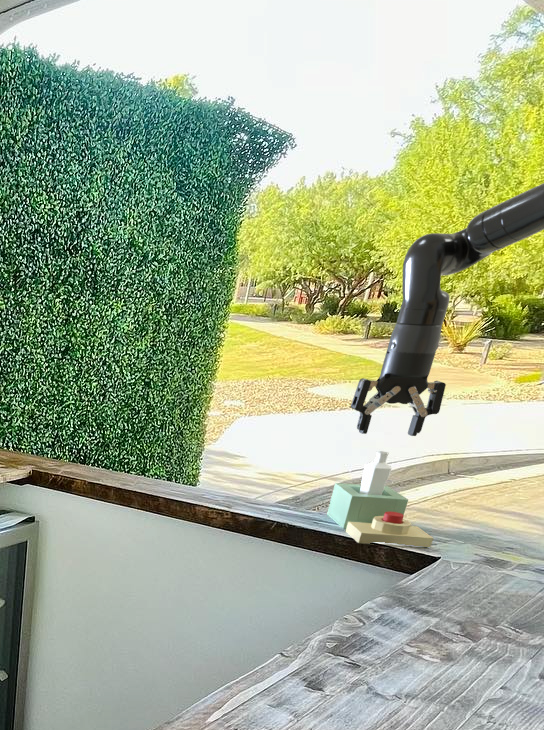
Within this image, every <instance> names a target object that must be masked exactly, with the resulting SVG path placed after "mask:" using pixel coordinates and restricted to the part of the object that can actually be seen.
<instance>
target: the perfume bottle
mask: <svg viewBox="0 0 544 730" xmlns="http://www.w3.org/2000/svg"><path fill="white" fill-rule="evenodd" d="M389 454H390V452H389V451H384V450H379V451H376V455H375V458H374V461H370V462H367V463H365V464H364V466H363V471H362V478H361V483H360V485H361V487H360V492H359V494H367V495H382V493H383V490H384V488H385V486H387V485H386V484H387V482H388V479H389V478H390V474H391V472H392V469H393V468H392V465H390V464H389V463H388V462H387V459H388V457H389V456H388V455H389Z"/></svg>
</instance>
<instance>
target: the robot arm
mask: <svg viewBox="0 0 544 730" xmlns="http://www.w3.org/2000/svg"><path fill="white" fill-rule="evenodd" d="M542 231H544V182H543V183H541V184H539V185H537V186H534V187H533V188H531V189H528V190H525V191H524V192H522V193H519V194H518V195H515V196H513V197H511V198H509V199H507V200H504V201H502V202H501V203H498V204H496V205H494V206H492V207H490V208H489V209H488V208H487V209H486V210H484V211H482V212H481V213H478V214H477V215H476V216H474V217H473V218H471V220H470V221H469V222H468V224H467V226H466V227H465V228H463V229H461V230H459V231H455V232H453V233H439V232H438V233H436V232H434V233H427V234H424V235H422V236H420V237H418V238H417V239H416V240H415V241H414V242H413V243H412V244H411V245H410V247H409V248H408V250H407V252H406V253H405V256H404V258H403V259H404V260H403V265H402V289H401V291H402V302H401V305H400V308H399V311H398V315H397V319H396V322H395V326H394V328H393V330H392V333H391V335H390V337H389V342H388V345H387V349H386V352H385V356H384V360H383V362H382V367H381V369H380V374H379V377H377V380H375V379H368V378H364V377H363V378H360V379H359V380H358V382H357V386H356V389H355V392H354V395H353V398H352V401H351V404H350V408H351V409H352V410H355V411H356V412H359V416H358V421H357V424H356V429H357V430H358V433H360V434H363V435H367V434H368V430H369V427H370V424H371V421H372V417H373V415H372V413H374V411H375V410H377V409H378V408H379V407H382V406H383V405H384V404H385V403H387V404H389V405H390V404H391V405H393V404H401V405H409V406H410V407H411V409H412V411H413V412H414V414H413V415H412V417H411V420H410V424H409V428H408V431H407V435H408V436H411V437H417V435H418V434H420V433H421V432H422V429H423V426H424V423H425V419H426V418H427V417H428V416H431V415H437V414H439V413H440V411H441V407H442V402H443V398H444V394H445V390H446V386H447V384H446V383H445V382H443V381H440V380H434V381H432V382H431V381H428V378H429V375H430V372H431V369H432V366H433V363H434V359H435V356H436V353H437V350H438V348H439V343H440V339H441V335H442V334H441V333H442V328H443V324H444V321H445V318H446V314H447V310H448V308H449V303H450V294H449V292H447V291H445V290H442V289H441V279H442V276H443V277H444V276H450V275H454V274H456V273H460V272H462V271H464V270H467V269H468V268H471V267H472V266H474V265H476V264H477V263H479V262H480V261H482V260H484V259H485V258H487V257H489V256H490V255H491V254H493V253H495V252H497V251H499V250H502V249H505V248H506V247H509V246H511V245H513V244H516V243H518V242H521V241H522V240H525V239H527V238H529V237H531V236H533V235H536V234H538V233H540V232H542ZM373 388H375V390H376V391H377V392H376V393H375V394H374V395H373V396H371V397H370V398H369V400H368V401H367V402H366V398H367V395H368V393H369V392H370V391H372V390H373ZM426 390H427V392H428V393H429V396H428V401H427V404H426V407H425V404H424V402H423V399H422V398H421V396H420V395H421V394H423V393H424V392H425V391H426ZM365 402H366V403H365Z"/></svg>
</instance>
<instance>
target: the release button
mask: <svg viewBox="0 0 544 730" xmlns="http://www.w3.org/2000/svg"><path fill="white" fill-rule="evenodd" d="M404 516H405V514H404V515H403V514H401V513H397V512H385V514H384V517H383V521H385V522H389V523H394V524H401V523H402V520H403V519H404Z"/></svg>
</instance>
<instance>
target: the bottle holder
mask: <svg viewBox="0 0 544 730" xmlns="http://www.w3.org/2000/svg"><path fill="white" fill-rule="evenodd" d="M360 487H361V483H360V484H357V483H343V482H342V483H341V482H335V483H334V486H333V491H332V493H331V497H330V502H329V505H328V509H327V513H326V515H327V516H328V517H329V518H330V519H331V520H332V521H334V522H335V523H336V524H337V525H338V526H339V527H340V528H341V529H343V530H346V528H347V525H348V522H363V523H372V521H373V518H374V517H376V516H384V514H385V512H397V513H401V514H403V515H404V516H405V512H406V508H407V505H408V503H409V499H408V498H407V497H405V496H403V495H402V494H400V493H399V492H398V491H396V490H394V489H393V488H391V487H390V486H388V485H385V488H384V490H383V493H382V495H367V494H359V492H360Z"/></svg>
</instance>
